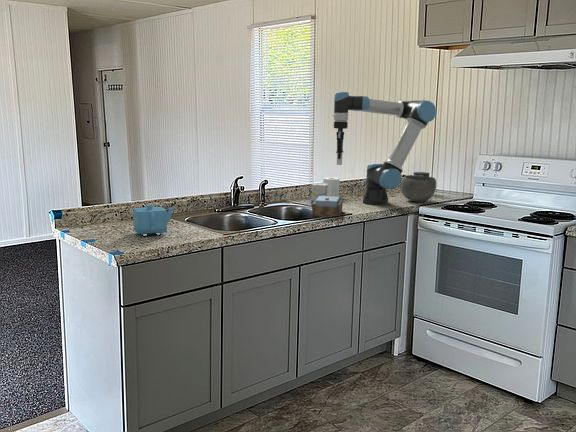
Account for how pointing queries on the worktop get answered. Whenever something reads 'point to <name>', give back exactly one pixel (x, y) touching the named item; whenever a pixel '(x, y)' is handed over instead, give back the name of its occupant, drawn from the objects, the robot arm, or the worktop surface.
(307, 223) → the worktop surface
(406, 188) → the bowl
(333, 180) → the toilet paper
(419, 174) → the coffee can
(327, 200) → the cover plate
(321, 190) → the ink box
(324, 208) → the walnut box
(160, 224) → the teapot
